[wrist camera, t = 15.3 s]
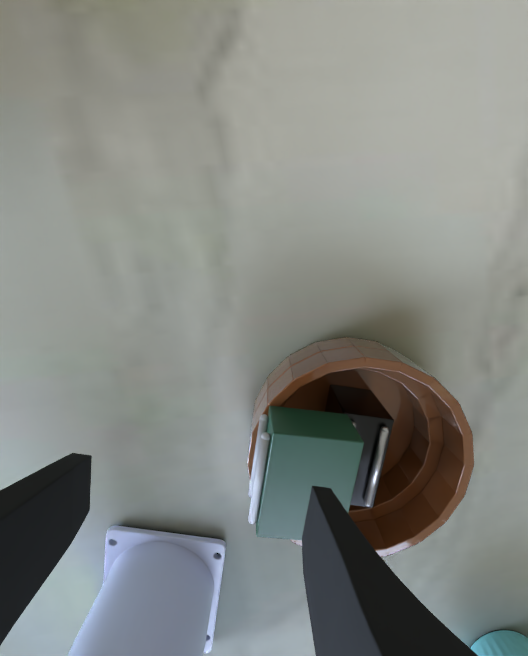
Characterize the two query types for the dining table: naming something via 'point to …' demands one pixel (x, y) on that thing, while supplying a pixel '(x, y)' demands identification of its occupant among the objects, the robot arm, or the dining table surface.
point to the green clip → (300, 467)
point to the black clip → (364, 436)
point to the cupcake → (501, 644)
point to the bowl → (405, 440)
